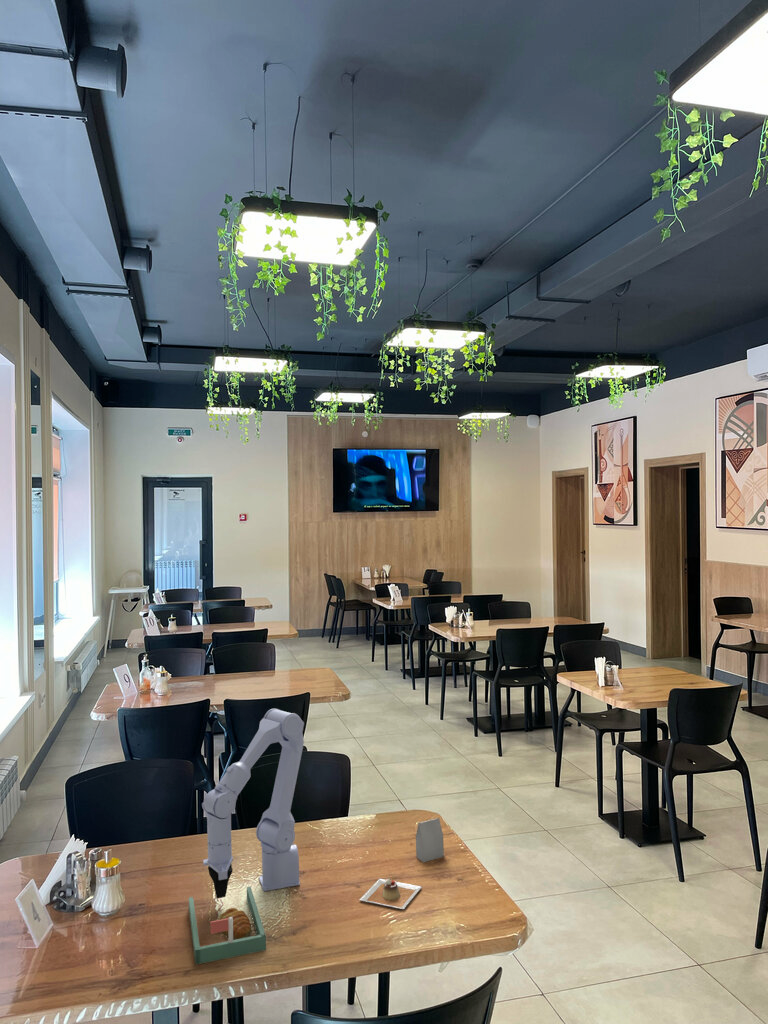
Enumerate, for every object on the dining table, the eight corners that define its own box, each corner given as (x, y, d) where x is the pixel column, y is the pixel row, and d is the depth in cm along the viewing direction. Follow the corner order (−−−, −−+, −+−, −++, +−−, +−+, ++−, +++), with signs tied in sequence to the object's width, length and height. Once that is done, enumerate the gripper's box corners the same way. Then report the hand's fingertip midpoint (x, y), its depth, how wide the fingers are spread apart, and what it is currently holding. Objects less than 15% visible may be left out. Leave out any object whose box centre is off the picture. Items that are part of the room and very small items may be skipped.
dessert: (422, 890, 182) (421, 871, 182) (403, 913, 171) (403, 893, 171) (379, 882, 187) (379, 864, 187) (359, 904, 176) (358, 884, 176)
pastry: (259, 935, 163) (258, 918, 163) (231, 947, 159) (231, 929, 159) (240, 919, 170) (240, 902, 170) (214, 929, 166) (213, 912, 166)
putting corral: (250, 898, 179) (250, 866, 180) (266, 950, 157) (265, 912, 157) (188, 910, 175) (188, 876, 175) (195, 964, 152) (194, 926, 152)
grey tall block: (443, 856, 200) (442, 820, 200) (423, 862, 197) (422, 825, 197) (436, 851, 203) (435, 816, 204) (416, 857, 200) (415, 821, 200)
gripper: (200, 831, 182) (202, 886, 182) (205, 855, 168) (206, 914, 168) (228, 827, 184) (230, 880, 184) (235, 850, 171) (237, 908, 170)
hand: (220, 896), depth 176 cm, fingers closed
